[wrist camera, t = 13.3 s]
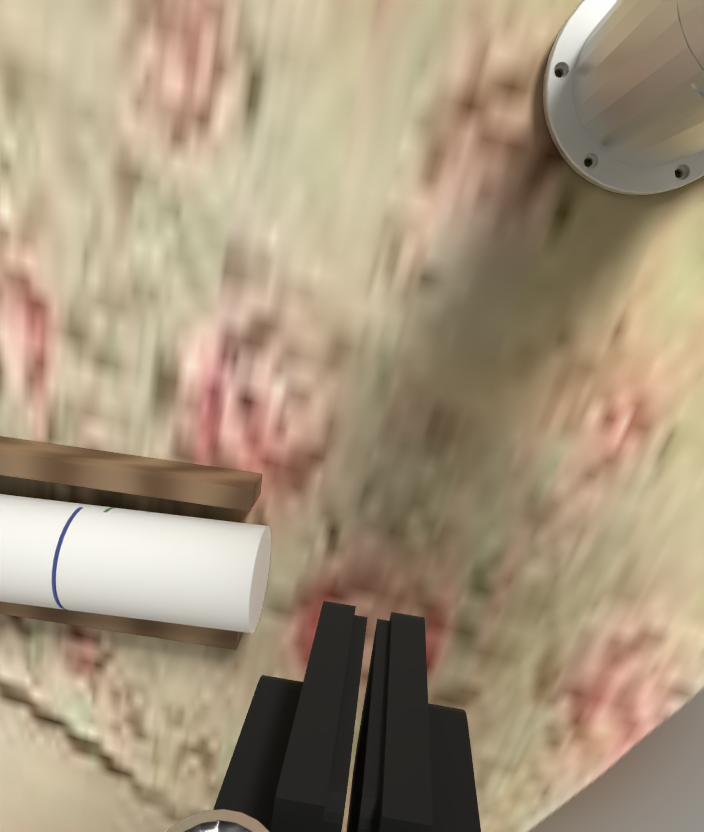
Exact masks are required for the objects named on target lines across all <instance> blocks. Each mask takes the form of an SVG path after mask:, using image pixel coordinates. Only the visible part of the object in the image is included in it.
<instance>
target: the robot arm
mask: <svg viewBox="0 0 704 832" xmlns="http://www.w3.org/2000/svg"><path fill="white" fill-rule="evenodd" d="M556 70H559V71H561V73H562V76H561V77H560V78H558V77H556V75H555V71H556ZM543 106H544V113H545V120H546V123H547V126H548V129H549V132H550V135H551V138H552V140H553V142H554V144H555V146H556V147H557V149H558V151H559V153H560V154H561V156H562V157H563V159H564V160H565V161H566V162H567V163H568V164H569V165H570V167H571V168H572V169H573V170H574V171H575V172H577V173H578V174H579V175H581V176H582V177H583V178H585V179H586V180H587V181H589V182H590V183H592V184H594V185H597V186H599V187H601V188H603V189H605V190H608V191H612V192H617V193H621V194H625V195H649V194H655V193H661V192H666V191H669V190H672V189H676V188H679V187H682V186H684V185H686V184H688V183H690V182H693V181H695V180H697V179H699V178H701V177H702V176H704V0H583V1H581V2H580V4H579V5H578V6H577V7H576V9H575V10H574V11H573V13H572V14H571V15H570V16H569V18H568V20H567V21H566V22H565V24H564V26H563V27H562V29H561V31H560V32H559V34H558V35H557V37H556V40H555V42H554V45H553V47H552V50H551V52H550V54H549V57H548V61H547V66H546V70H545V75H544V82H543ZM585 159H589V160H590V161H591V165H590V166H589V167H586V166H585V165H584V161H585ZM675 170H678V171H679V172H680V176H679V177H678V178H676V176H675ZM355 608H356V606H351V605H345V604H339V603H332V602H326V601H324V602H323V605H322V609H321V614H320V618H319V622H318V626H317V630H316V634H315V638H314V642H313V646H312V650H311V654H310V658H309V662H308V666H307V670H306V674H305V678H304V682H299V681H293V680H287V679H281V678H276V677H270V676H264V675H262V676H261V678H260V680H259V682H258V685H257V688H256V691H255V693H254V696H253V699H252V702H251V705H250V708H249V710H248V713H247V716H246V719H245V722H244V725H243V727H242V730H241V733H240V736H239V739H238V742H237V744H236V747H235V750H234V753H233V756H232V759H231V761H230V764H229V767H228V770H227V773H226V776H225V778H224V781H223V784H222V787H221V790H220V792H219V795H218V798H217V801H216V804H215V807H214V809H213V810H209V811H202V812H200V813H197V814H194V815H191V816H189V817H186V818H184V819H183V820H181V821H180V822H178V823H177V824H175V825H174V826H173V827H171V828H170V829H168V831H167V832H341V830H342V823H343V816H344V809H345V801H346V794H347V786H348V777H349V769H350V760H351V752H352V743H353V735H354V726H355V718H356V709H357V701H358V692H359V684H360V675H361V667H362V658H363V649H364V641H365V632H366V624H367V617H362V616H356V615H355ZM347 832H481V828H480V820H479V812H478V804H477V796H476V787H475V779H474V771H473V763H472V755H471V747H470V738H469V730H468V722H467V716H466V712H465V711H464V710H462V709H456V708H450V707H444V706H438V705H433V704H428V692H427V666H426V641H425V620H424V618H423V617H417V616H411V615H405V614H399V613H393V612H392V613H391V616H390V621H386V620H380V619H378V620H377V625H376V631H375V637H374V643H373V649H372V656H371V662H370V668H369V674H368V681H367V687H366V693H365V700H364V706H363V712H362V718H361V725H360V731H359V737H358V743H357V750H356V756H355V763H354V770H353V779H352V788H351V797H350V806H349V815H348V824H347Z"/></svg>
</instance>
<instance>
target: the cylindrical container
mask: <svg viewBox="0 0 704 832" xmlns="http://www.w3.org/2000/svg"><path fill="white" fill-rule="evenodd" d="M270 554H271V533H270V528H269V526H264V525H256V524H247V523H239V522H231V521H222V520H214V519H205V518H197V517H189V516H180V515H172V514H163V513H155V512H147V511H138V510H130V509H121V508H113V507H105V506H97V505H88V504H80V503H71V502H63V501H55V500H46V499H38V498H30V497H21V496H13V495H5V494H0V601H2V602H10V603H17V604H25V605H33V606H41V607H49V608H56V609H67V610H72V611H80V612H88V613H96V614H104V615H112V616H120V617H128V618H136V619H144V620H152V621H160V622H168V623H176V624H184V625H191V626H199V627H207V628H215V629H223V630H231V631H238V632H246V633H253V632H254V631H255V629H256V627H257V624H258V621H259V618H260V615H261V611H262V607H263V603H264V598H265V593H266V587H267V581H268V574H269V565H270Z"/></svg>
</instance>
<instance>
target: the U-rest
mask: <svg viewBox="0 0 704 832" xmlns="http://www.w3.org/2000/svg"><path fill="white" fill-rule="evenodd" d="M0 475H4V476H11V477H18V478H25V479H32V480H39V481H45V482H52V483H59V484H66V485H73V486H80V487H87V488H93V489H100V490H107V491H114V492H121V493H128V494H135V495H141V496H148V497H155V498H162V499H169V500H176V501H183V502H190V503H196V504H203V505H210V506H217V507H224V508H231V509H238V510H244V511H250V510H251V508H252V507H253V505H254V503H255V502H256V500H257V498H258V497H259V495H260V492H261V482H262V474H259V473H252V472H245V471H238V470H231V469H224V468H217V467H210V466H203V465H196V464H189V463H182V462H175V461H168V460H161V459H154V458H147V457H141V456H134V455H127V454H120V453H113V452H106V451H99V450H92V449H85V448H78V447H71V446H64V445H57V444H50V443H43V442H36V441H29V440H22V439H15V438H8V437H1V436H0ZM0 614H5V615H12V616H18V617H25V618H31V619H38V620H44V621H51V622H58V623H64V624H71V625H77V626H84V627H90V628H97V629H103V630H110V631H116V632H123V633H129V634H136V635H142V636H149V637H155V638H162V639H168V640H175V641H181V642H188V643H194V644H201V645H207V646H214V647H220V648H227V649H234V650H236V649H237V647H238V644H239V642H240V640H241V637H242V635H243V632H238V631H231V630H223V629H215V628H207V627H199V626H191V625H184V624H176V623H168V622H160V621H152V620H144V619H136V618H128V617H120V616H112V615H104V614H96V613H88V612H80V611H72V610H67V609H56V608H49V607H41V606H33V605H25V604H17V603H10V602H2V601H0Z"/></svg>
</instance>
